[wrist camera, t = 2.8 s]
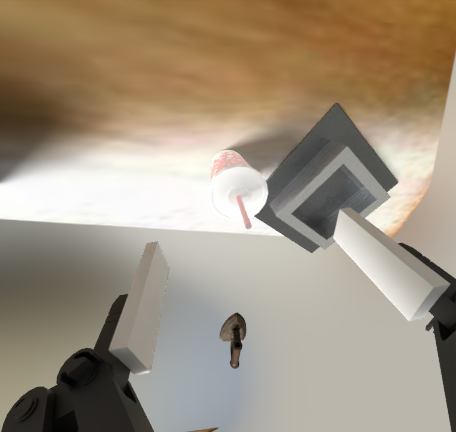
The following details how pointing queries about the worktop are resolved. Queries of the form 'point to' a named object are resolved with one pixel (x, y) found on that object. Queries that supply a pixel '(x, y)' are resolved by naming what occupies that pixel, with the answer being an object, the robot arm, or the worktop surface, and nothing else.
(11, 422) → the robot arm
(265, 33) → the worktop surface
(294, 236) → the socket holder
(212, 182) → the beverage cup
